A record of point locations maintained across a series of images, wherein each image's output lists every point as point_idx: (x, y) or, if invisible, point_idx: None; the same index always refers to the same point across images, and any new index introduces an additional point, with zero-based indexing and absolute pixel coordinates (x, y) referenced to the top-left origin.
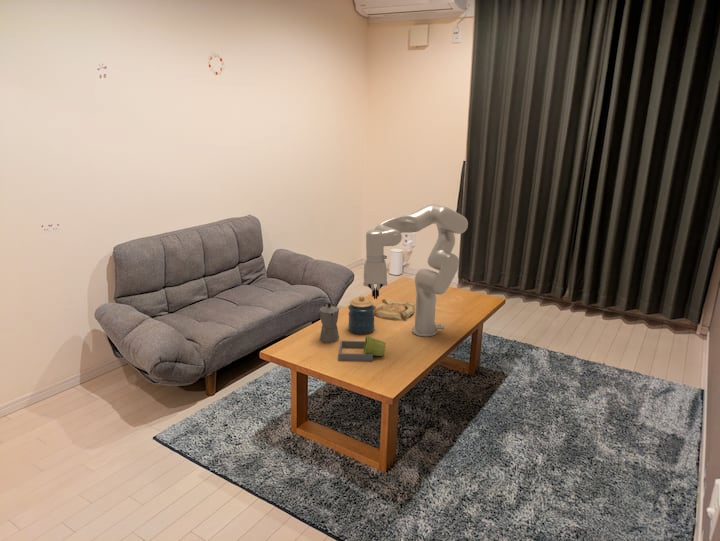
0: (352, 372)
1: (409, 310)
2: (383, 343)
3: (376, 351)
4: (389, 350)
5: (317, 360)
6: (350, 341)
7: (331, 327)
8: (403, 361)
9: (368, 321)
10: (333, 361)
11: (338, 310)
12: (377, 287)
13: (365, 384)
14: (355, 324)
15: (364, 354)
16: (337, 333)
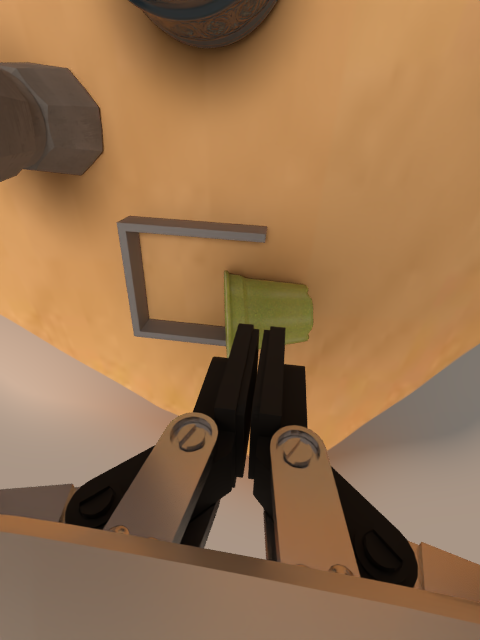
0: (195, 389)
1: None
2: (301, 335)
3: None
4: (334, 256)
5: (78, 319)
6: (161, 232)
7: (27, 166)
8: (365, 343)
9: (244, 3)
10: (129, 328)
11: None
12: (272, 547)
13: None
14: (156, 19)
15: (225, 344)
16: (79, 133)
